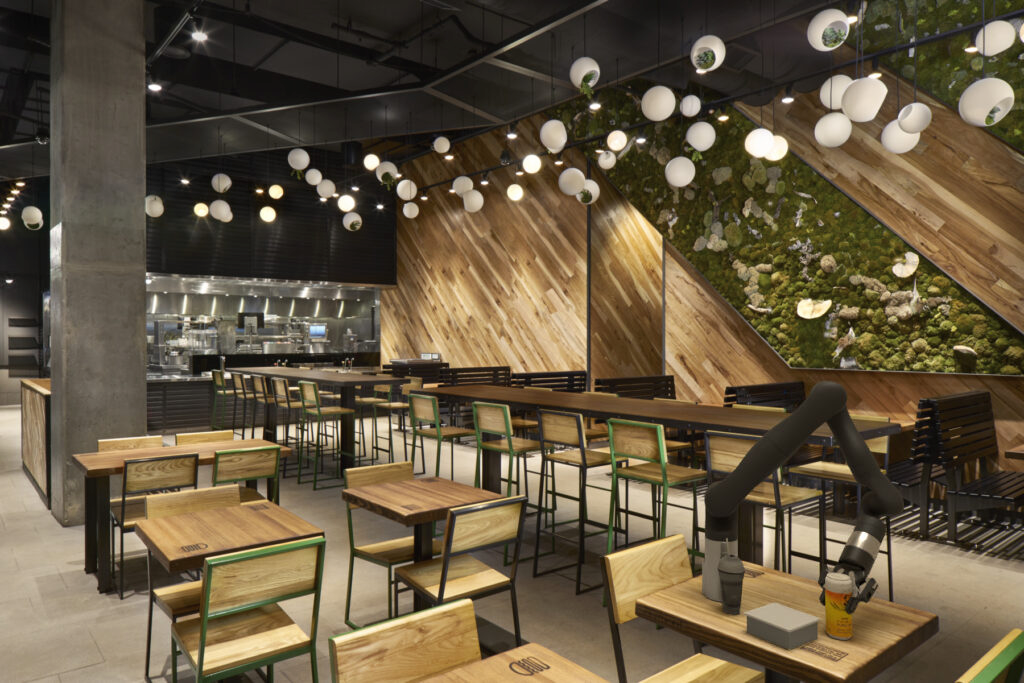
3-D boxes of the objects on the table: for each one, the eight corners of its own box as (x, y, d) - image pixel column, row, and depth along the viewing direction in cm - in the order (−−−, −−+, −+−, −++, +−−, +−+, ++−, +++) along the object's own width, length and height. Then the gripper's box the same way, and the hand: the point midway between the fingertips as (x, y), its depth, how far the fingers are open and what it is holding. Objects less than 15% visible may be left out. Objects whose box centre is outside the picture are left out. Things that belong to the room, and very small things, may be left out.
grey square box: (743, 632, 168) (743, 612, 168) (774, 621, 175) (774, 602, 175) (789, 651, 157) (789, 630, 157) (820, 638, 164) (820, 618, 164)
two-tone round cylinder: (840, 642, 162) (840, 581, 162) (820, 633, 168) (819, 574, 168) (857, 638, 164) (857, 578, 165) (837, 629, 170) (836, 570, 170)
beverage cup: (738, 619, 176) (738, 544, 177) (712, 612, 181) (712, 539, 182) (749, 611, 182) (749, 539, 182) (724, 604, 186) (724, 534, 187)
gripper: (827, 538, 177) (802, 591, 170) (882, 551, 165) (857, 609, 158) (839, 554, 179) (814, 607, 173) (893, 569, 167) (869, 626, 161)
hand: (835, 608), depth 165 cm, fingers closed on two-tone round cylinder, 6 cm apart
